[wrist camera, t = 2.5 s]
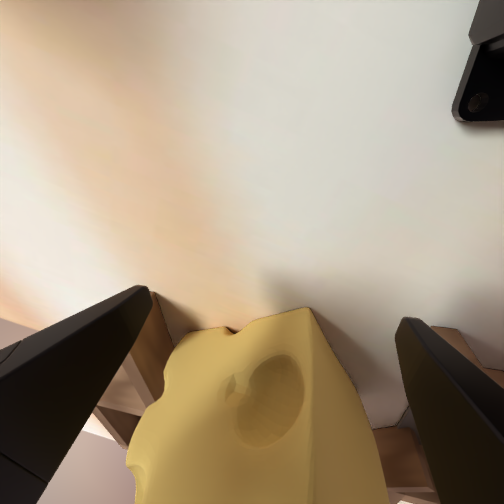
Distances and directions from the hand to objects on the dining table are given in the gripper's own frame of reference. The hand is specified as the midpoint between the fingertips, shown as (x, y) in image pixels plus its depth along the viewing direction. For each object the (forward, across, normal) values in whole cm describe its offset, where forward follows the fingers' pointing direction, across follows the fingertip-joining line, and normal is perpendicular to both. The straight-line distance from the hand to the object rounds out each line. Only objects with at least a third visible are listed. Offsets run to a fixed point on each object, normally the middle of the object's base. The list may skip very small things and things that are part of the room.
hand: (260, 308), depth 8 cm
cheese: (+5, 0, +10) cm, 11 cm away
